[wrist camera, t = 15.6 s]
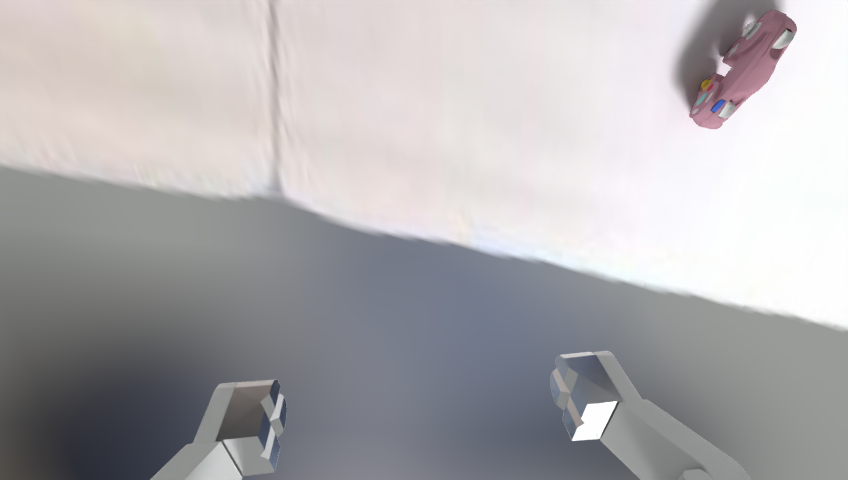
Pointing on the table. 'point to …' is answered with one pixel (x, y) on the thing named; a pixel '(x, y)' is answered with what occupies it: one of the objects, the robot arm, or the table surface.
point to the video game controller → (744, 69)
